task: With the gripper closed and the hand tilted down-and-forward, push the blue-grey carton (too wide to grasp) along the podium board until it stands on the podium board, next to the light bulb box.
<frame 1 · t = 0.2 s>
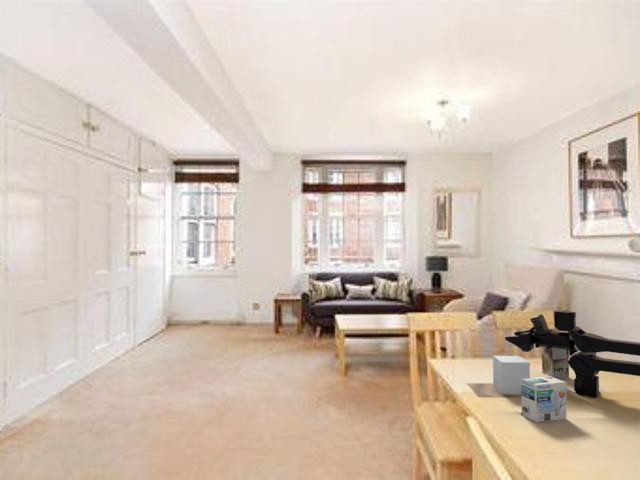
hand: (510, 335, 172), 16 cm above the table, tool horizontal, fingers open, 9 cm apart
carton: (511, 390, 156), point 1 cm above the table, touching podium board
coffee box: (555, 376, 177), on the table
podium board: (502, 393, 156), on the table
light bulb box: (543, 417, 135), on the table
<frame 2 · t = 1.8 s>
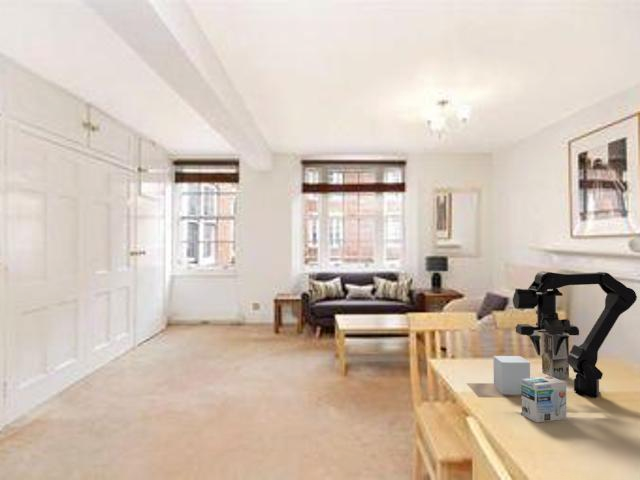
hand: (547, 355, 156), 13 cm above the table, tool pointing down, fingers open, 5 cm apart
nothing on the table moved.
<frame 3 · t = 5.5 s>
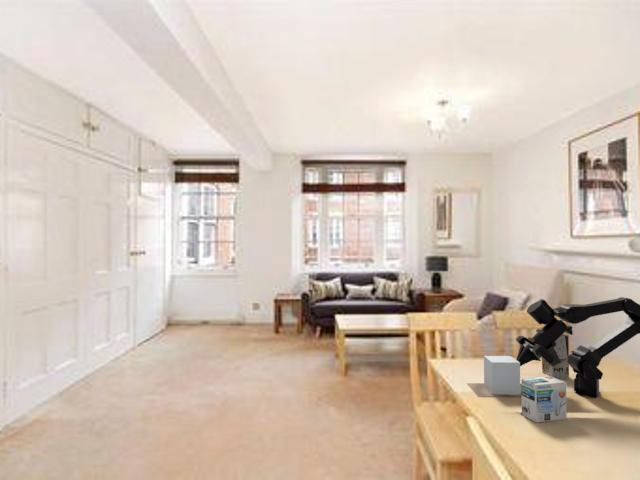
hand: (515, 366, 156), 9 cm above the table, tool tilted 45°, fingers closed, pressing on carton
carton: (501, 390, 156), point 1 cm above the table, touching gripper
everything else where it was.
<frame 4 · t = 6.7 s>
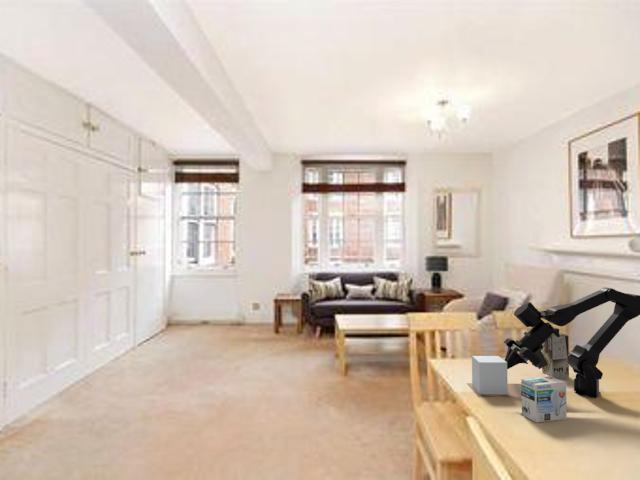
hand: (503, 369, 156), 8 cm above the table, tool tilted 45°, fingers closed, pressing on carton
carton: (489, 390, 156), point 1 cm above the table, touching gripper, podium board
everything else where it was.
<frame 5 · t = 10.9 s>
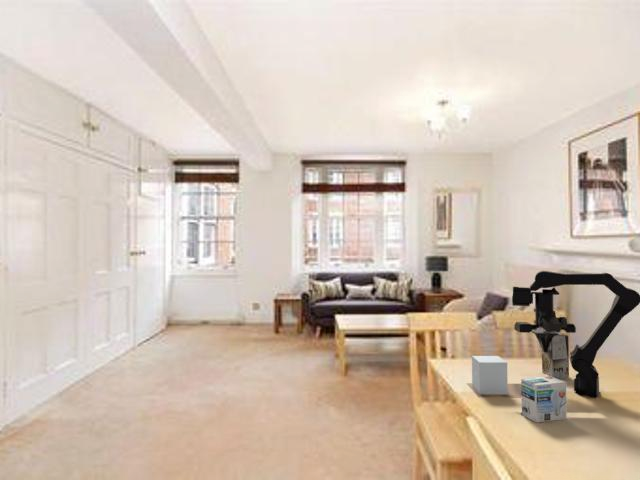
hand: (544, 352, 160), 13 cm above the table, tool pointing down, fingers closed
carton: (489, 390, 156), point 1 cm above the table, touching podium board
everything else where it was.
at the end: carton inside the target area (0.3 cm from its centre), point 1.2 cm above the table; carton tilted 0°; carton moved 7.3 cm from its start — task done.
